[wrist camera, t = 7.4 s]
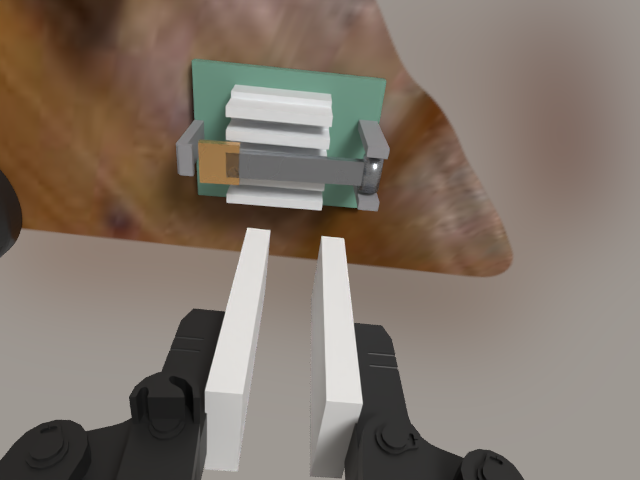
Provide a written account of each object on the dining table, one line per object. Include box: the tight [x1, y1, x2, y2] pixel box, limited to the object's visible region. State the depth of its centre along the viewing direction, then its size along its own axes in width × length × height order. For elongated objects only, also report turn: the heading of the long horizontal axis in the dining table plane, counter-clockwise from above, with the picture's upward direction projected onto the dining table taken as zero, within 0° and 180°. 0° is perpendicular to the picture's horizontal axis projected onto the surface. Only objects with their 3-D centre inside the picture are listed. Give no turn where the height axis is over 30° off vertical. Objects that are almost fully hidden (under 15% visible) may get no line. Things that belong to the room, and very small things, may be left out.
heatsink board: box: [176, 59, 390, 211], centre depth 36 cm, size 16×12×8 cm
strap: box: [198, 140, 384, 193], centre depth 34 cm, size 14×3×2 cm, turn 84°
